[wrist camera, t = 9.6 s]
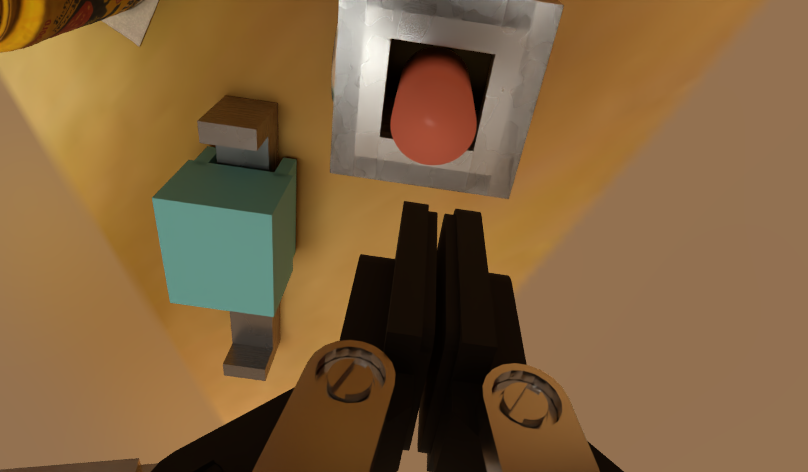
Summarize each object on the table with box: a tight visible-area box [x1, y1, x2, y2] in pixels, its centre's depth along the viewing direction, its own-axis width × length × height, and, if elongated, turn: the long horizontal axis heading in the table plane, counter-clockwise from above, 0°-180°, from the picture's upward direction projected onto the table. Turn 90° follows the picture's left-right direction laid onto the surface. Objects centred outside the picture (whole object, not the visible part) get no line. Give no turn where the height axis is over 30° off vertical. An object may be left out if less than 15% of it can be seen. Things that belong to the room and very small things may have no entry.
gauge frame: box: [330, 0, 564, 199], centre depth 23 cm, size 8×8×8 cm
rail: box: [197, 95, 280, 381], centre depth 33 cm, size 19×3×4 cm, turn 172°
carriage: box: [152, 146, 297, 317], centre depth 30 cm, size 7×6×6 cm
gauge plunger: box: [390, 47, 477, 165], centre depth 20 cm, size 3×3×5 cm
